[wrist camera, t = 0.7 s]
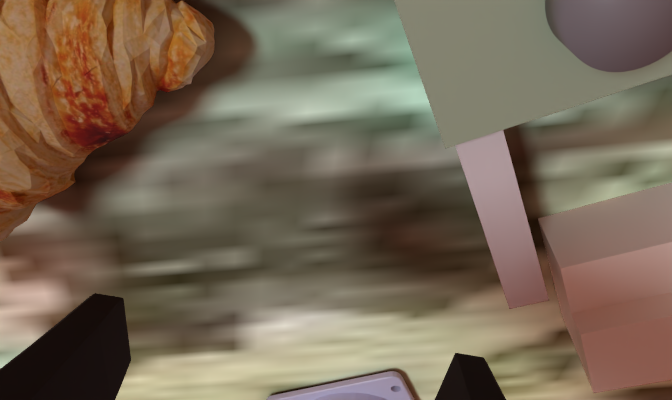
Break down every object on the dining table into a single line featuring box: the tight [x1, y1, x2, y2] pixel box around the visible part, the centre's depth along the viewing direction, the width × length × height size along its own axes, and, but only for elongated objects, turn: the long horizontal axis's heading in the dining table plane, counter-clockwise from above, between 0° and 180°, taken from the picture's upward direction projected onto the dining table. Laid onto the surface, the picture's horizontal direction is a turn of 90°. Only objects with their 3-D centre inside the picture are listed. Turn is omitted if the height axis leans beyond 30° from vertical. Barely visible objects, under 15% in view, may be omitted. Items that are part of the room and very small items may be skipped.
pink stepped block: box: [538, 183, 672, 393], centre depth 19 cm, size 6×5×4 cm
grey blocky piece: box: [394, 0, 672, 309], centre depth 15 cm, size 13×10×5 cm
